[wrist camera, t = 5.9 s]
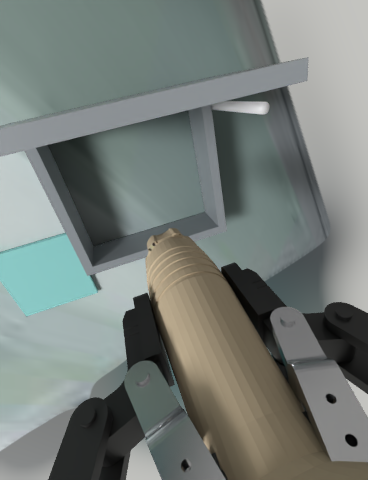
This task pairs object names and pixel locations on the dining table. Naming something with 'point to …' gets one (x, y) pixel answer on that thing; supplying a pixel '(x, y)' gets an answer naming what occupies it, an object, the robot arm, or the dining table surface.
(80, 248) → the case
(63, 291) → the pad
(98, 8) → the dining table surface
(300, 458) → the handle
